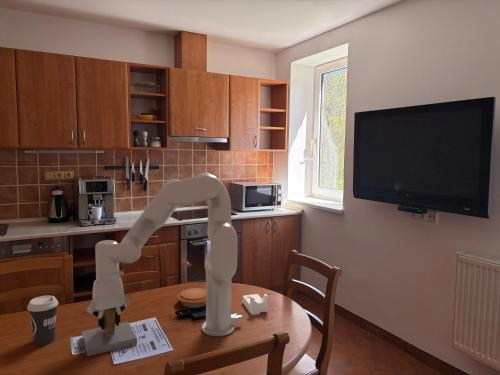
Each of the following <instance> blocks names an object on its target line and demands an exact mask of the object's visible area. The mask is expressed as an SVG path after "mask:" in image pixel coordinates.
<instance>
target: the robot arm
mask: <svg viewBox="0 0 500 375" xmlns="http://www.w3.org/2000/svg"><path fill="white" fill-rule="evenodd" d="M205 201H206V203H207V231H206V232H207V237H208V240H209V241H210V249H209V250H208V251H207V253H206V255H205V259H204V266H205V289H206V305H205V321H204V322H203V324H202V325H201V331H202V333H204V334H206V335H208V336H210V337H211V336H212V337H224V336H228V335H230V334H232V333H233V332H234V331H235V329H236V325H235V323H236V322H240V321H242V320H243V318H244V317H243V315H242V314H241V315H237V313H234V314H232V279H233V277H234V276H235V274H236V273H237V268H238V244H239V242H238V241H239V240H238V234H237V230H236V229H235V228H234V226H233V224H232V203H231V196H230V193H229V191H228V189H227V187H226V186H225V184H224V183H223V182H222V181H221V180H220V179H219V178H218V177H217V176H216V175H213V174H212V173H209V172H202V173H201V172H200V173H199V174H198V175H196V177H192V178H187V179H181V180H179V179H176V178H172V179H171V178H170V179H169V180H167V181H166V182H165V183H164V184H163V185H162V186H161V188H160V189H159V190H158V192H157V194H155V195H154V197H153V199H152V200H151V201H150V202H149V204H148V205H147V206H146V207H145V209H144V210H143V212H142V213H141V214H140V216H139V217H138V219H137V220H136V222H134V224H132V226H131V227H130V229H129V230H128V231H127V233H126V234H125V235H124V237H123V238H122V240H121V242H119V243H118V242H117V241H116V240H111V239H105V240H101V241H98V242H96V244H95V249H94V250H95V251H94V252H95V253H94V254H95V273H96V274H95V278H96V279H95V280H94V281H93V286H92V301H91V303H90V304H89V306H88V307H87V308H86V312H87V313H89V314H91V315H93V316H94V317H95V318H97V322H98V324H97V325H98V328H100V327H101V330H102V329H104V324H103V317H102V316H103V313H104V311H105V310H106V309H111V308H116V316H115V324H116V326H119V323H121V315H122V312H124V311H125V309H126V308H127V307H128V306H129V305H131V303H130V300H129V299H128V298H127V297H126V296H125V292H124V284H123V280H122V277H121V276H122V275H124V270H120V263H121V264H134V263H135V262H138V260H139V259H140V257H141V255H142V248H143V247H144V245H145V244H146V243H147V241H148V240H149V238H150V237H151V236H152V235H153V233H155V232H156V231H157V230H158V229H160V228H162V227H163V226H164V225H165V224H166V222H168V220H169V219H170V217H171V216H172V215H173V213H174V212H175V210H176V209H178V207H179V206H185V205H191V204H196V203H199V202H205Z"/></svg>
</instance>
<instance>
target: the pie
mask: <svg viewBox="0 0 500 375" xmlns="http://www.w3.org/2000/svg"><path fill="white" fill-rule="evenodd" d="M176 297H177V299H178V300H179V302H180V304H181V305H182V306H183V307H186V308H189V309H199V308H202V307H204V306H205V307H206V288H201V287H193V288H187V289H184V290H183V291H182V290H181V292H179V293H178V294H177V296H176Z"/></svg>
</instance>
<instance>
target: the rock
mask: <svg viewBox="0 0 500 375" xmlns="http://www.w3.org/2000/svg"><path fill="white" fill-rule="evenodd" d="M115 316H116V308H111V309H106V310H103V313H102V317H103V324H104V329H102V330H103V331H104V332H105V333H106V336H112V335H114V330H115V324H116V323H115Z"/></svg>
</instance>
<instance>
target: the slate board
mask: <svg viewBox="0 0 500 375" xmlns="http://www.w3.org/2000/svg"><path fill="white" fill-rule="evenodd" d="M82 340H83V345H84V348H85V351H86V357H91V356H95V355H99V354H103V353H107V352H111V351H115V350H119V349H123V348H128V347H132V346H136V345H138V338H137V335H136V334H135V332H134V330H133V328H132V327H131V324H130V323H129V321H125V322H119V326H116V323H115V330H114V335H112V336H106V333H105V332H104V331H103V330H101V327H96V328H90V329H86V330H82Z"/></svg>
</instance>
